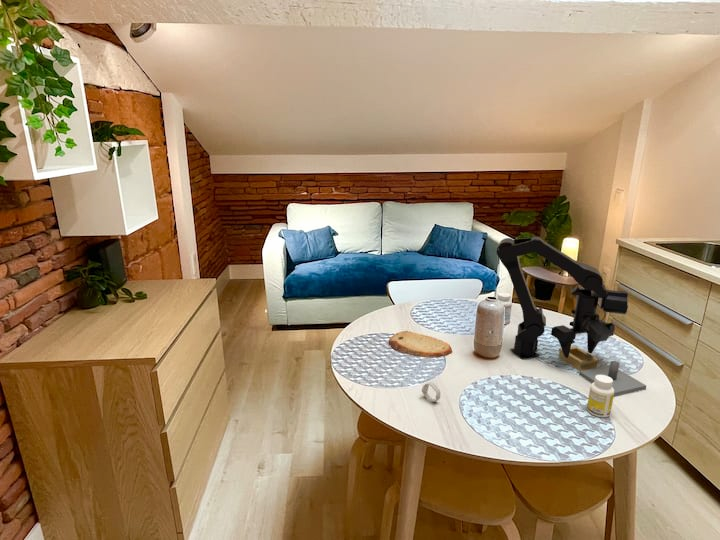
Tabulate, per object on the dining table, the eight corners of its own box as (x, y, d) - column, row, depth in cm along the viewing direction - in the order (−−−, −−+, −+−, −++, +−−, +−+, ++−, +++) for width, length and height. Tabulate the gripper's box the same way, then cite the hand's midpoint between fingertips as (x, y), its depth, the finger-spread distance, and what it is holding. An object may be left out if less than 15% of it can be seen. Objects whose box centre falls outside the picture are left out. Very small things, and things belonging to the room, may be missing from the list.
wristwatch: (427, 394, 120) (428, 378, 119) (441, 402, 117) (442, 386, 115) (420, 398, 118) (421, 382, 117) (434, 406, 115) (435, 390, 113)
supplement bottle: (602, 405, 115) (608, 372, 112) (614, 418, 110) (621, 384, 107) (582, 405, 115) (588, 373, 112) (593, 418, 110) (599, 384, 107)
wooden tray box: (579, 371, 132) (581, 362, 131) (558, 357, 140) (559, 349, 139) (596, 367, 133) (598, 359, 133) (574, 354, 142) (576, 346, 141)
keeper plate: (612, 396, 119) (616, 377, 117) (578, 374, 130) (582, 356, 128) (645, 389, 122) (650, 369, 120) (610, 368, 133) (613, 350, 131)
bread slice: (456, 354, 142) (457, 344, 141) (407, 365, 136) (408, 354, 135) (428, 332, 158) (429, 323, 157) (384, 341, 152) (384, 331, 151)
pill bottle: (489, 319, 168) (492, 292, 165) (502, 317, 170) (505, 290, 167) (499, 326, 163) (502, 298, 159) (513, 323, 165) (516, 296, 161)
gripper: (581, 323, 121) (573, 372, 126) (632, 315, 127) (623, 362, 131) (553, 309, 131) (546, 355, 136) (601, 301, 137) (593, 346, 141)
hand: (578, 355), depth 136 cm, fingers open, 9 cm apart
